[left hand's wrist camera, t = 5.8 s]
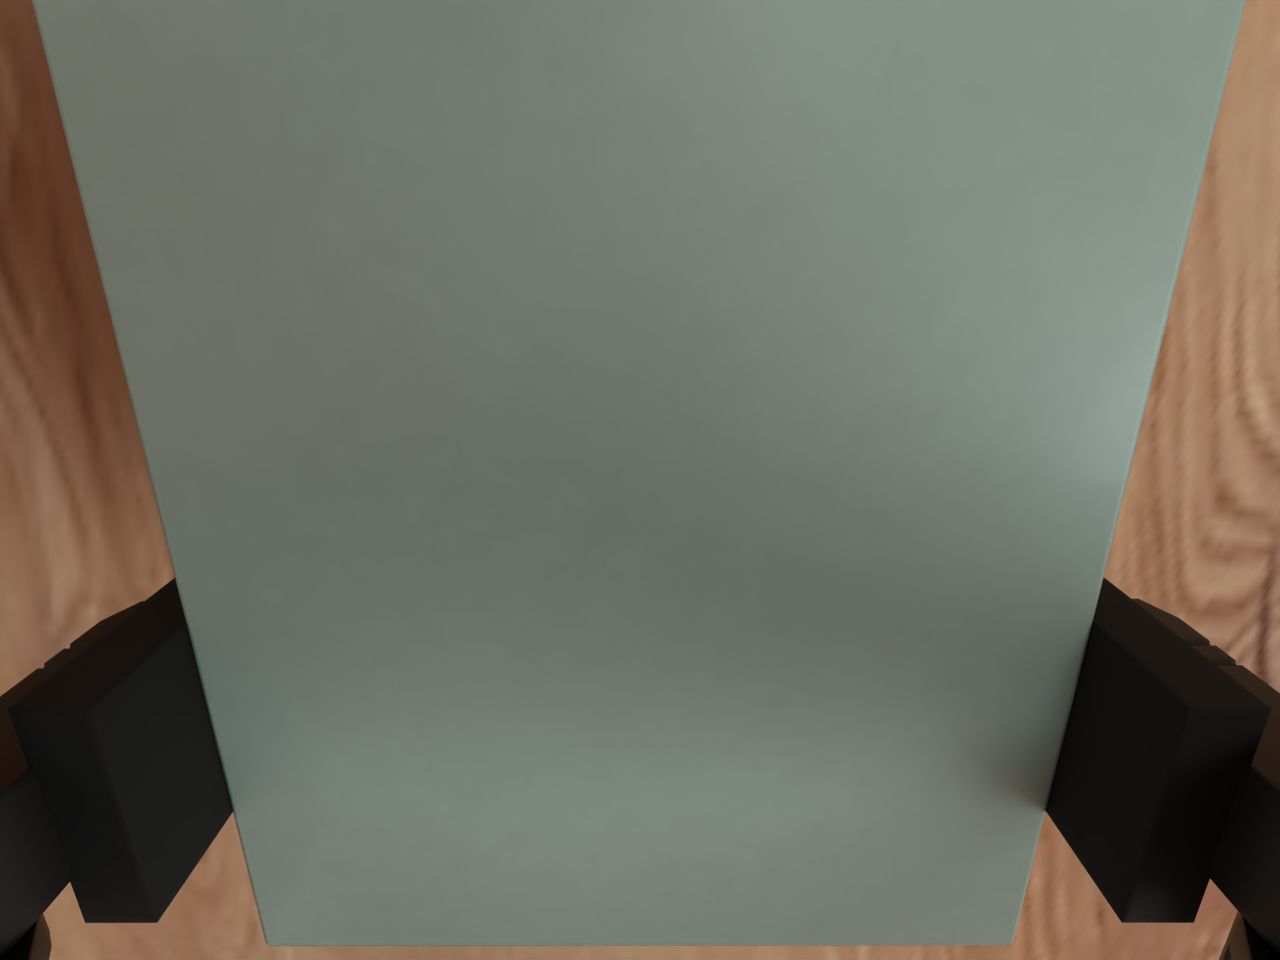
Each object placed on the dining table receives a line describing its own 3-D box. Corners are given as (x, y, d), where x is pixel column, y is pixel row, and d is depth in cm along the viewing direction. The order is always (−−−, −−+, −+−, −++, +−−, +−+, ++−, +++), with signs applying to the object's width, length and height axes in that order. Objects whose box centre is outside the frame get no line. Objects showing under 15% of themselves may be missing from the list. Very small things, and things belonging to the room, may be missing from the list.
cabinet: (384, -215, 14) (-333, -1429, 4) (893, -215, 14) (1606, -1424, 4) (459, 567, 20) (264, 949, 10) (819, 567, 20) (1014, 948, 10)
